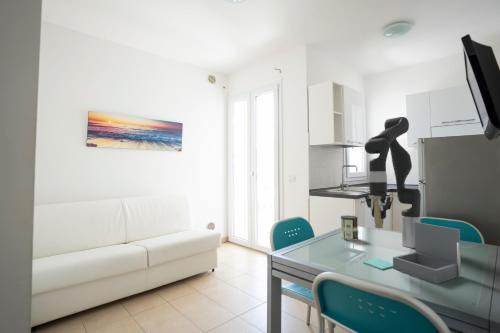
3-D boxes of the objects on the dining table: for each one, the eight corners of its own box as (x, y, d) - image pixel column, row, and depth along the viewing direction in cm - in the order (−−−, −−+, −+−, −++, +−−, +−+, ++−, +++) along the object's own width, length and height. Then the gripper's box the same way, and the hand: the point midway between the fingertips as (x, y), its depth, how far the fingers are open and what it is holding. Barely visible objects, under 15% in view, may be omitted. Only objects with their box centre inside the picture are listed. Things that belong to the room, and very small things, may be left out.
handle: (371, 226, 125) (370, 195, 125) (386, 227, 122) (385, 195, 122) (371, 228, 120) (370, 196, 121) (386, 229, 118) (386, 196, 118)
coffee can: (354, 236, 173) (353, 215, 173) (360, 240, 163) (360, 218, 163) (338, 236, 173) (338, 215, 174) (344, 240, 163) (343, 218, 163)
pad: (377, 259, 127) (377, 258, 127) (396, 266, 118) (396, 264, 118) (363, 262, 123) (363, 261, 123) (382, 270, 114) (381, 268, 114)
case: (417, 262, 123) (415, 222, 123) (463, 276, 106) (462, 229, 106) (393, 268, 116) (392, 225, 116) (439, 284, 99) (437, 234, 99)
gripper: (397, 181, 117) (398, 219, 116) (370, 180, 130) (371, 215, 129) (386, 181, 114) (387, 221, 113) (359, 181, 126) (360, 216, 126)
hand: (378, 217), depth 121 cm, fingers closed on handle, 4 cm apart
